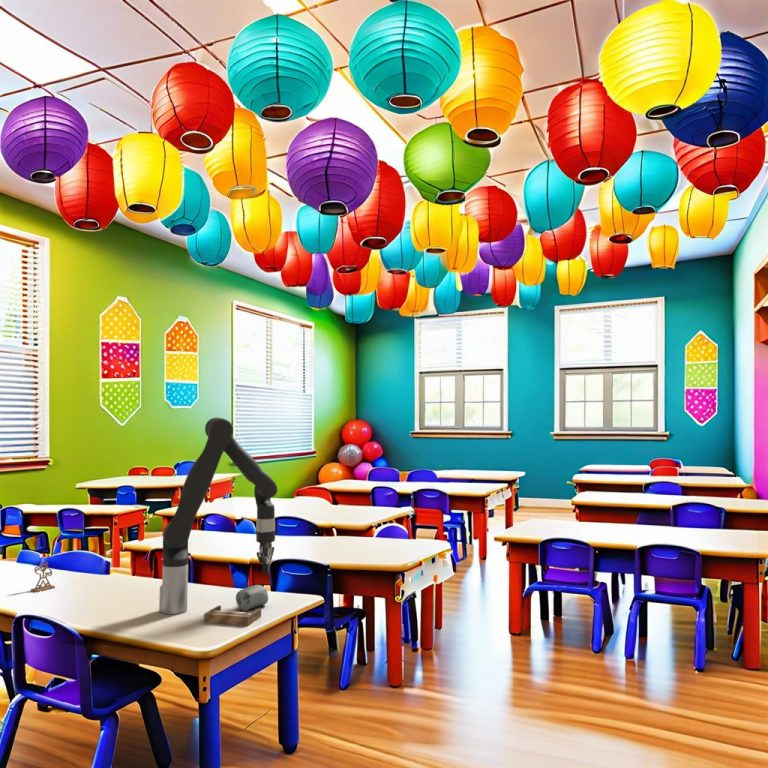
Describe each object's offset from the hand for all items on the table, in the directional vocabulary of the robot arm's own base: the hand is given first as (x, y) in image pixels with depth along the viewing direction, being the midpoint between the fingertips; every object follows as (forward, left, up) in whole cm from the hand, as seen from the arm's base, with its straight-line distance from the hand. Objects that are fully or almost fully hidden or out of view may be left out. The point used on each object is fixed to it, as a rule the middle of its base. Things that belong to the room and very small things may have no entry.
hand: (265, 573), depth 274 cm
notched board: (0, -29, -11) cm, 30 cm away
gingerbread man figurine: (-96, -9, -11) cm, 97 cm away
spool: (0, -12, -11) cm, 16 cm away
